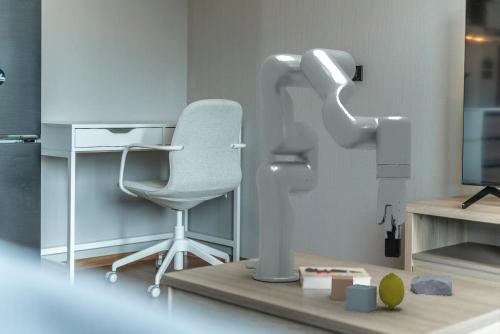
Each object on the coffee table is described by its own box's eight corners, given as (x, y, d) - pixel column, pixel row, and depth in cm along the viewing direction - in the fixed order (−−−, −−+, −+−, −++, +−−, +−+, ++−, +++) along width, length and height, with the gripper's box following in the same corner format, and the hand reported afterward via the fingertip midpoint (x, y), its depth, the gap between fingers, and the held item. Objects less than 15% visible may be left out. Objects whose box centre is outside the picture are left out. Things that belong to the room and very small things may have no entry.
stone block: (413, 302, 178) (455, 296, 176) (409, 282, 179) (451, 276, 177) (412, 294, 190) (451, 288, 188) (408, 276, 190) (448, 270, 188)
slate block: (346, 310, 160) (346, 287, 160) (355, 306, 165) (355, 284, 164) (367, 313, 158) (367, 290, 158) (376, 309, 162) (376, 286, 162)
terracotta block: (331, 300, 171) (331, 278, 171) (331, 296, 176) (331, 275, 176) (352, 301, 170) (353, 279, 170) (352, 296, 175) (353, 275, 175)
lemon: (388, 312, 158) (388, 275, 158) (373, 307, 163) (374, 271, 163) (409, 310, 160) (409, 273, 160) (394, 305, 165) (395, 270, 165)
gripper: (383, 172, 169) (382, 251, 170) (368, 173, 155) (367, 260, 156) (416, 172, 166) (415, 253, 167) (404, 174, 153) (403, 262, 153)
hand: (392, 256), depth 161 cm, fingers closed
